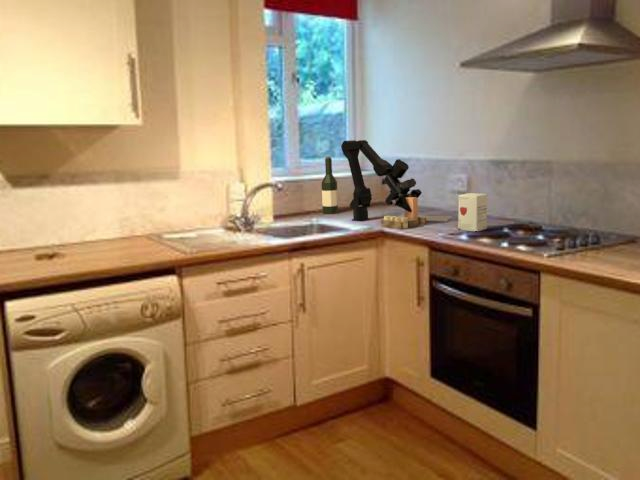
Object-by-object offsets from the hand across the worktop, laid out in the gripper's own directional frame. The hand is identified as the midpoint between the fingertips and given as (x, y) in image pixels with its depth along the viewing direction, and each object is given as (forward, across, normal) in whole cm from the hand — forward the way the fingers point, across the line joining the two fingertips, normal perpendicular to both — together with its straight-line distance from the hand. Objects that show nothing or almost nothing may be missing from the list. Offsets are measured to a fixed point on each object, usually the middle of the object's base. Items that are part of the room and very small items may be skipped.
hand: (413, 211), depth 269 cm
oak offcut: (+6, -10, +3) cm, 12 cm away
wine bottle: (-42, +7, +52) cm, 67 cm away
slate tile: (+1, +16, +9) cm, 18 cm away
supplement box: (+22, +10, -12) cm, 27 cm away
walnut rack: (+4, -4, +6) cm, 8 cm away
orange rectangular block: (+3, 0, +5) cm, 6 cm away
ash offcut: (+1, -10, +8) cm, 13 cm away
